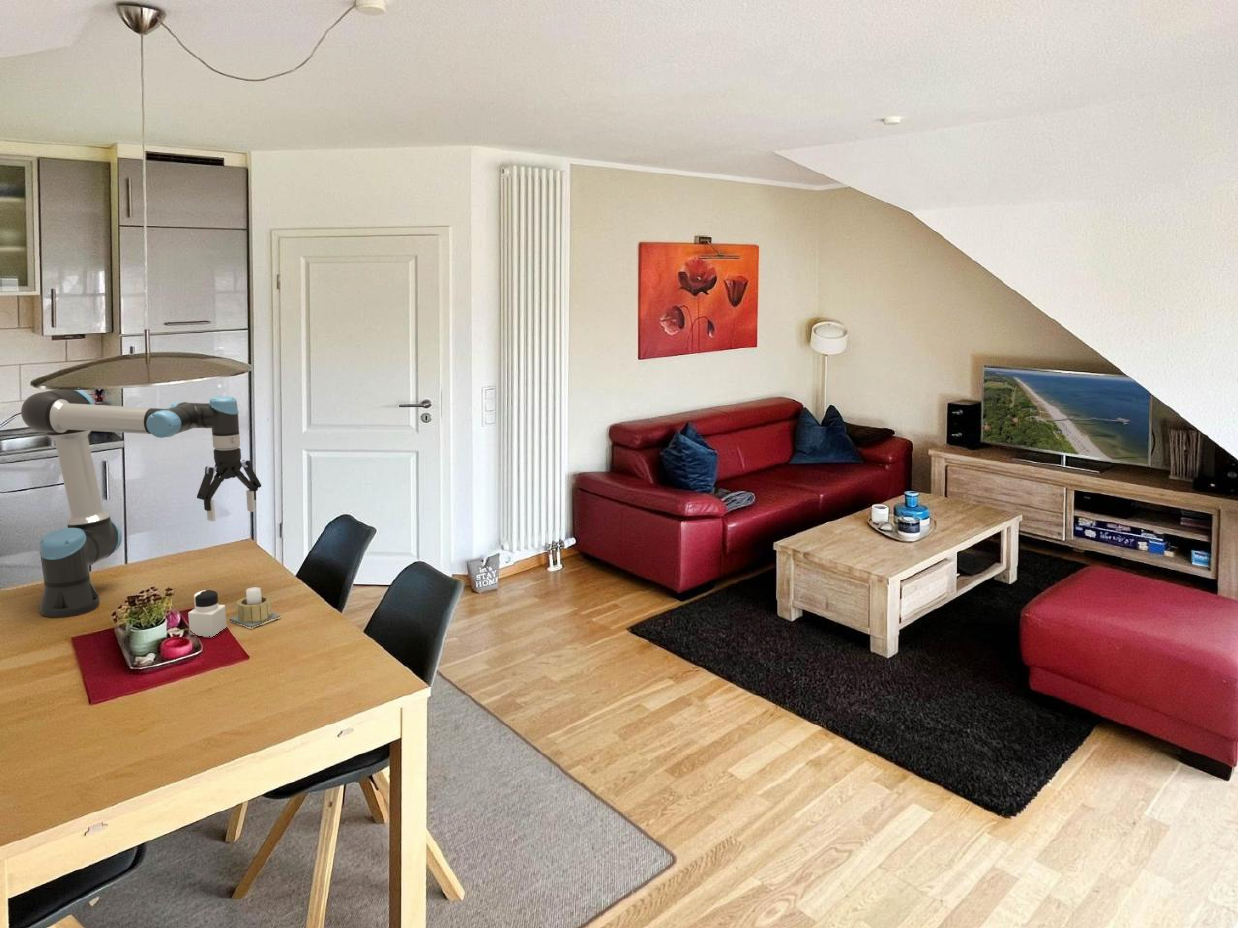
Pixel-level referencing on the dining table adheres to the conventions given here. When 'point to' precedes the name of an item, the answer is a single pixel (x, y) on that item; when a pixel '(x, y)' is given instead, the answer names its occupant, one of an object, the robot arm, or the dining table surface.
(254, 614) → the ring
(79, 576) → the robot arm
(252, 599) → the post stand
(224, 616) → the medicine bottle
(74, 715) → the dining table surface
